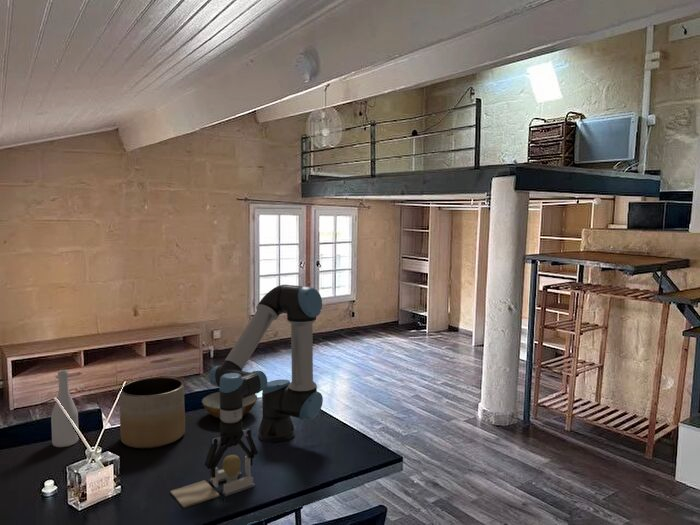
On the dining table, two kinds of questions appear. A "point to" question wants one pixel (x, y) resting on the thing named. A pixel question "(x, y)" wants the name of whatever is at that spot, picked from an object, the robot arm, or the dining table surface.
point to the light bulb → (231, 467)
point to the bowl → (213, 404)
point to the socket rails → (234, 483)
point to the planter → (152, 412)
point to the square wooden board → (194, 493)
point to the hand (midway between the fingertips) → (232, 480)
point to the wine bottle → (60, 424)
